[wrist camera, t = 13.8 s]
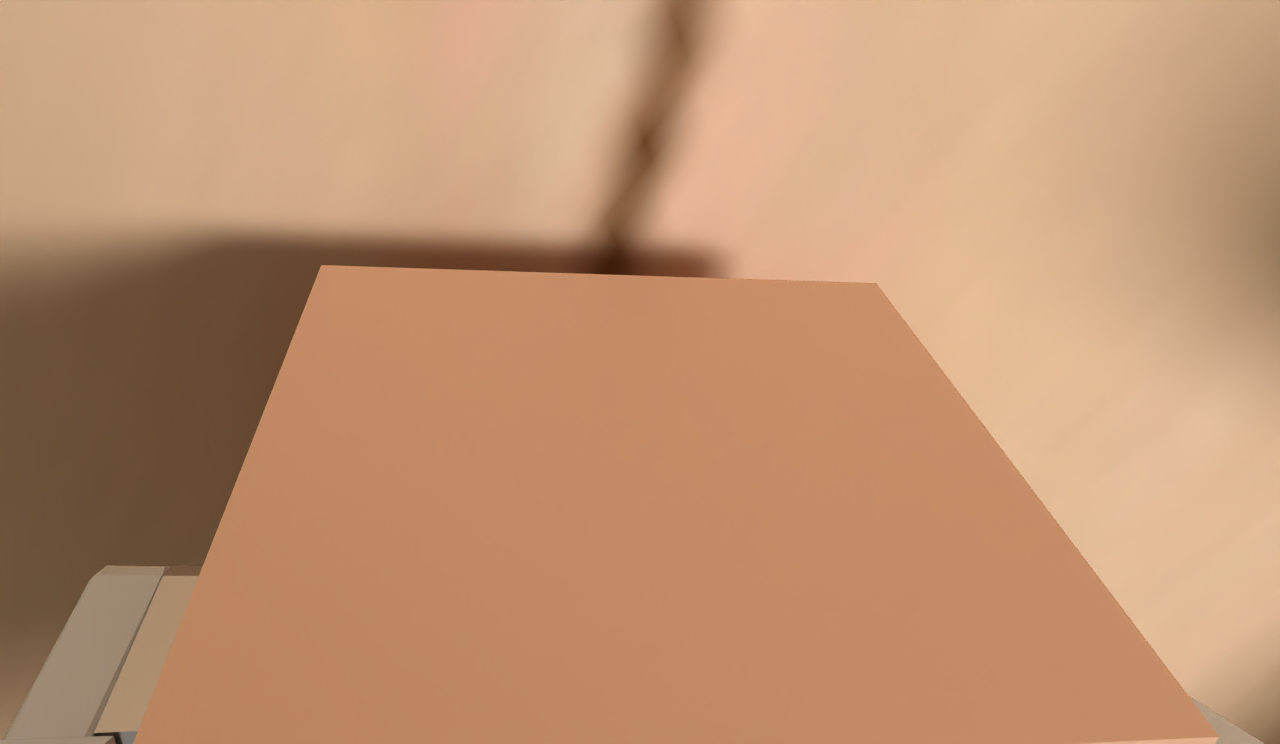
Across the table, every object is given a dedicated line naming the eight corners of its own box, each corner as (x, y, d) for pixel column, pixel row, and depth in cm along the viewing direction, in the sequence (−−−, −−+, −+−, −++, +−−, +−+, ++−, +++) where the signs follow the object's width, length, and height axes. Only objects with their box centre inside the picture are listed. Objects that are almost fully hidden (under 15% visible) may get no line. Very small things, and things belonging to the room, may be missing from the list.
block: (320, 264, 8) (114, 788, 4) (876, 283, 9) (1220, 738, 5) (356, 669, 11) (258, 1248, 6) (783, 656, 11) (951, 1168, 7)
